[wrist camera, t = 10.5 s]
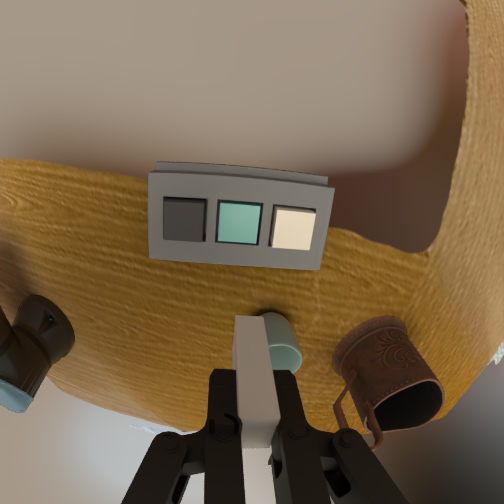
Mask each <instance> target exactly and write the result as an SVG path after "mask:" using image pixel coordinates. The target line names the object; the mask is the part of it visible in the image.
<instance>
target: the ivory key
mask: <svg viewBox="0 0 504 504" xmlns="http://www.w3.org/2000/svg"><path fill="white" fill-rule="evenodd" d="M315 216H316V213H315V212H313V211H312V210H311V209H310V208H304V207H294V206H285V205H275V204H274V208H273V216H272V223H271V231H270V239H269V240H270V243H271V245H272V248H285V249H298V250H310V244H311V239H312V233H313V228H314V222H315Z"/></svg>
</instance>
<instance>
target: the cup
mask: <svg viewBox="0 0 504 504" xmlns="http://www.w3.org/2000/svg"><path fill="white" fill-rule="evenodd" d="M260 317H263V318H264V324H265V330H266V336H267V341H268V347H269V353H270V359H271V365H272V370H290V371H291V372H292V374H293V373H294V372H295V371H297V370H298V369H299V367H300V366H301V364H302V353H301V349H300V346H299V343H298V339H297V336H296V334H295V331H294V329H293V327H292V325H291V324H290V322H289V321H288V320H287V319H286V318H285V317H284V316H282V315H280V314H278V313H275V312H268V313H264V314H262V315H260Z"/></svg>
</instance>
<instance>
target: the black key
mask: <svg viewBox="0 0 504 504" xmlns="http://www.w3.org/2000/svg"><path fill="white" fill-rule="evenodd" d="M205 208H206V199H200V198H182V197H168V198H167V199H166V200H165V201H164V240H174V241H188V242H202V240H203V237H204V226H205Z"/></svg>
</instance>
